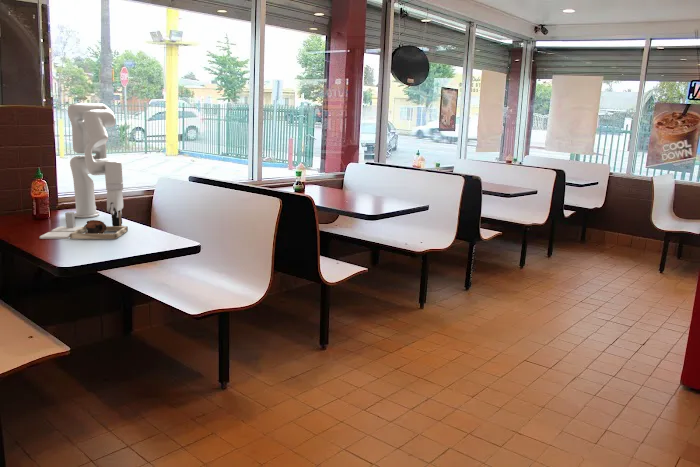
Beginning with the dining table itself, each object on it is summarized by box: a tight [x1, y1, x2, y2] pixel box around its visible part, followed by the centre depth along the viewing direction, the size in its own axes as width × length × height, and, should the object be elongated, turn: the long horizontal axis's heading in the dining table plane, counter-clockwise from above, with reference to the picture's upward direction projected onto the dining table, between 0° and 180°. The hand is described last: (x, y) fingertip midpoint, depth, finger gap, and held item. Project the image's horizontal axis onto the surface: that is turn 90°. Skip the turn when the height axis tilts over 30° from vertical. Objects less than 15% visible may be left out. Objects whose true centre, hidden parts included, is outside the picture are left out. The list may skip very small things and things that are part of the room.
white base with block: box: [39, 211, 83, 240], centre depth 273 cm, size 21×12×8 cm, turn 3°
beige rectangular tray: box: [69, 211, 129, 240], centre depth 274 cm, size 24×20×8 cm
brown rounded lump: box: [83, 219, 107, 234], centre depth 271 cm, size 12×9×8 cm
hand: (117, 224), depth 284 cm, fingers closed on beige rectangular tray, 3 cm apart
